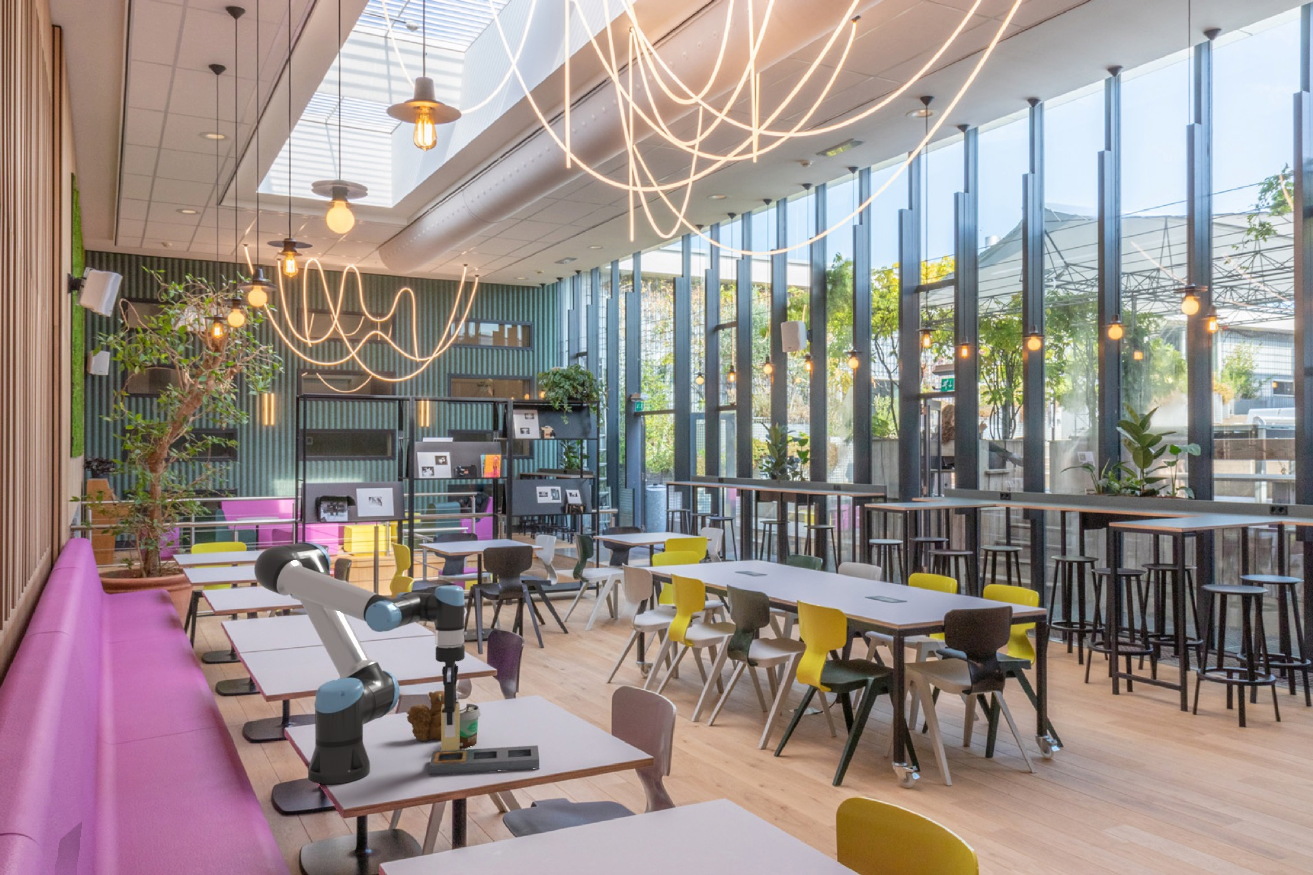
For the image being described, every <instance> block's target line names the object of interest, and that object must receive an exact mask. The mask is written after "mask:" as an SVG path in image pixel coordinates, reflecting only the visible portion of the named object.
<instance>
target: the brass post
mask: <svg viewBox="0 0 1313 875" xmlns="http://www.w3.org/2000/svg"><path fill="white" fill-rule="evenodd" d="M460 706H461V705H460V702H459V703H455V705H454V708H455V737H445V724H444V713H442V710H444V704H442V707H441V740H440V741H441V742H440V746H441V748H440V749H441V750H440V751H449V750H460V749H459V747H460V710H461V709H460V708H461V707H460Z"/></svg>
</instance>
